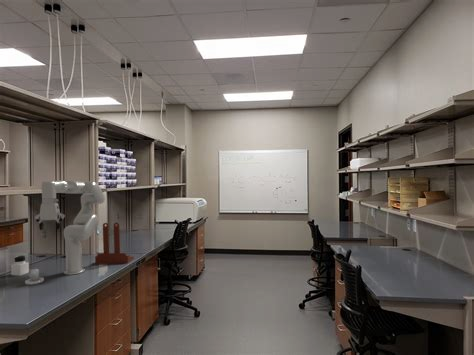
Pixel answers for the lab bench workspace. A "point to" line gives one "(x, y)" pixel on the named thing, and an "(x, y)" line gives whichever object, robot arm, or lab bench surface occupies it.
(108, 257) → the twin post bracket
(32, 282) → the shallow grey dish
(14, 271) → the medicine bottle
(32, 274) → the white light bulb
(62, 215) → the robot arm
